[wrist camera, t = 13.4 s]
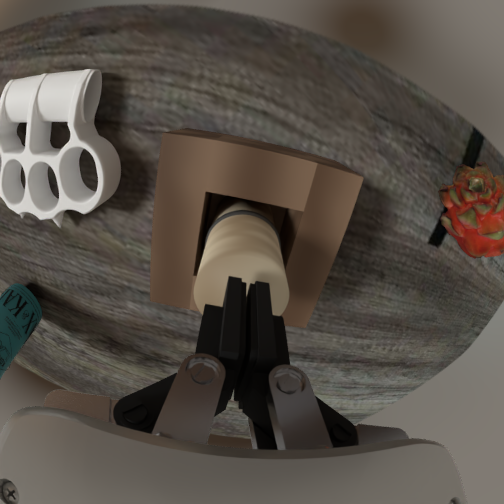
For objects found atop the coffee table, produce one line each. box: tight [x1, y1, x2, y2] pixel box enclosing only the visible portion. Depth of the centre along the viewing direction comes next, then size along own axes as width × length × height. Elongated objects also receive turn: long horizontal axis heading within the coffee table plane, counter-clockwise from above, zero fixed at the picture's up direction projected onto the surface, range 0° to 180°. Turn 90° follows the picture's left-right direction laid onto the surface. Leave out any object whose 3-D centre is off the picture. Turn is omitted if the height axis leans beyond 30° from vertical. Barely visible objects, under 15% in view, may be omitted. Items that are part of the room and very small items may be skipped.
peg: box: [194, 195, 289, 316], centre depth 17 cm, size 5×5×10 cm
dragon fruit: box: [438, 161, 504, 258], centre depth 18 cm, size 8×8×12 cm
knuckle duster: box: [0, 69, 121, 229], centre depth 17 cm, size 3×18×15 cm
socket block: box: [150, 128, 364, 328], centre depth 19 cm, size 12×12×6 cm
